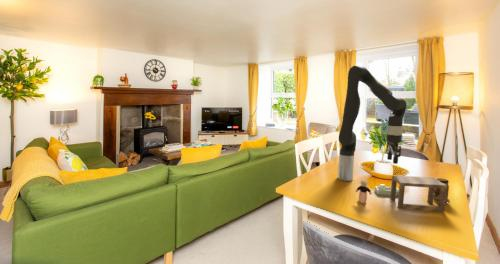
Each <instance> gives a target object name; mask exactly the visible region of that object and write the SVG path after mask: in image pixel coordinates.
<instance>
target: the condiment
mask: <svg viewBox="0 0 500 264" xmlns="http://www.w3.org/2000/svg"><path fill="white" fill-rule="evenodd" d="M436 179H437V180H439V181H440V182H442V183H444V184H445V185H447V189H446V198H445V205H450V201H451V200H450V198H449V190H450V189H449V188H450V186H449V180H448V179H445V178H442V177H441V178H436ZM439 194H440V188H434V197H433V203H438V202H439ZM447 202H448V203H449V204H448V203H447Z"/></svg>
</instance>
